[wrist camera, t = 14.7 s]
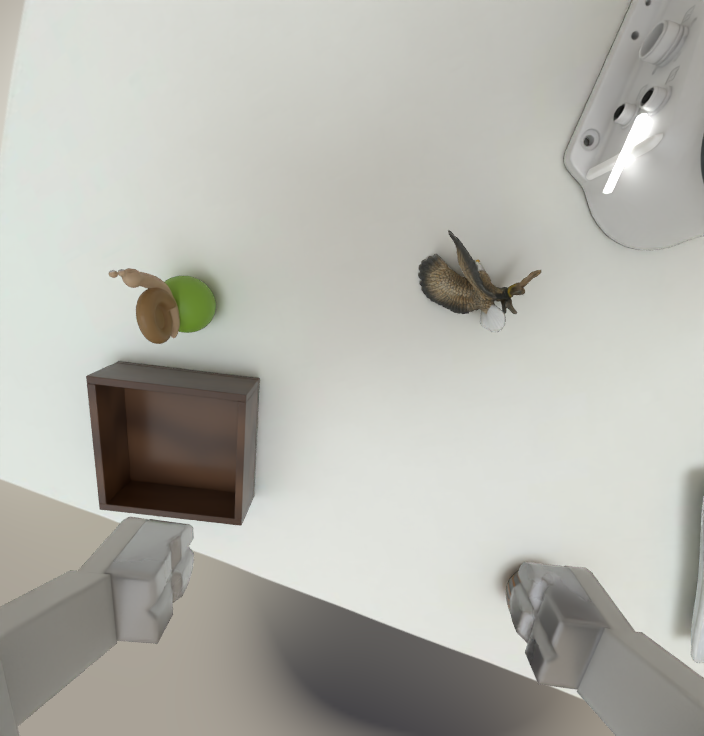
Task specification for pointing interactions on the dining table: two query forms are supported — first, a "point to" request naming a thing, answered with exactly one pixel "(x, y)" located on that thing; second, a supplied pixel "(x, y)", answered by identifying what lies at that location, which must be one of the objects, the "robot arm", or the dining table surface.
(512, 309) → the eagle figurine
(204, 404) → the crate
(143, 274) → the snail figurine
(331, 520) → the dining table surface
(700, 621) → the square plate
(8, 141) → the dining table surface
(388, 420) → the dining table surface
